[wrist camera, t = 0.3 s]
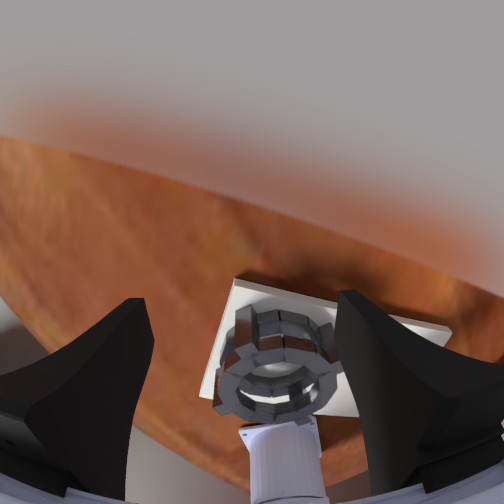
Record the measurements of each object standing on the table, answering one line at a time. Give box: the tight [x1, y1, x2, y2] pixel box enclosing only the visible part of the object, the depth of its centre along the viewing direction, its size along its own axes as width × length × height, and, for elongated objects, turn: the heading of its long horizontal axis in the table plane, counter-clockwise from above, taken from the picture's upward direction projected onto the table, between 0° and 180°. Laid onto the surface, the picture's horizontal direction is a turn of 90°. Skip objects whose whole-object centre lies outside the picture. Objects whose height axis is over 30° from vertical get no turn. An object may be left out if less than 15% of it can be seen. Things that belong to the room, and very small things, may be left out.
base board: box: [199, 278, 452, 417], centre depth 25 cm, size 20×12×1 cm, turn 73°
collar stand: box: [212, 304, 344, 426], centre depth 22 cm, size 8×8×4 cm
